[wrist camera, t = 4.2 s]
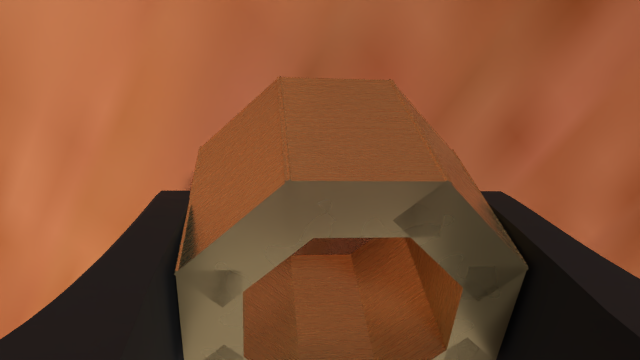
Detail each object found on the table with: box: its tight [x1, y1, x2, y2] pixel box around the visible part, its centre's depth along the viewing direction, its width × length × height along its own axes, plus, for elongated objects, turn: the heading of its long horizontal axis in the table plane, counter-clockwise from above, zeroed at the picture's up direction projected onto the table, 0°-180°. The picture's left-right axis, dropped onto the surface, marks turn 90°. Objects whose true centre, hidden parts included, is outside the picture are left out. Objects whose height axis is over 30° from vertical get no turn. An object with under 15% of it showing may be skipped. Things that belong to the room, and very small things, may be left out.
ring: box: [174, 76, 528, 360], centre depth 11 cm, size 6×6×4 cm
